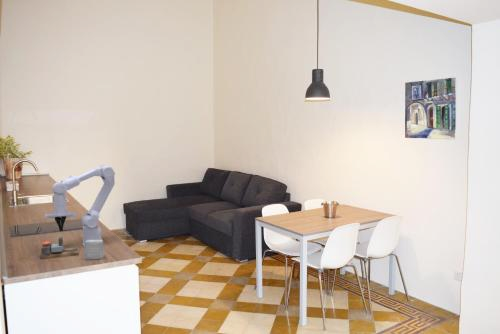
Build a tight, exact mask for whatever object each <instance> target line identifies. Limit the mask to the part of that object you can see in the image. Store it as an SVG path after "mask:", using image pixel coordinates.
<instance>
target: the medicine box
mask: <svg viewBox="0 0 500 334" xmlns="http://www.w3.org/2000/svg"><path fill="white" fill-rule="evenodd" d="M83 247H84V248H83V249H84V250H83V251H84V260H102V259H103V258H104V256H105V255H104V250H105V249H104V240H103V239H102V240H87V241H85V242H84V246H83Z"/></svg>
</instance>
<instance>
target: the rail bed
mask: <svg viewBox="0 0 500 334" xmlns="http://www.w3.org/2000/svg"><path fill="white" fill-rule="evenodd" d="M51 246H52V241H50V244H49V245H42V244H41V248H40V250H41V251H40V252H41V254H40V256H39V258H40V260H43V259H45V260H46V259H53V258H64V257H73V256H74V257H75V256H79V252H80V247H69V248H63V251H61V252H51Z"/></svg>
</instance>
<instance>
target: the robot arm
mask: <svg viewBox="0 0 500 334" xmlns="http://www.w3.org/2000/svg"><path fill="white" fill-rule="evenodd" d="M115 176H116V172H115V170H114V169H113V167H112V166H109V165H104V164H102V165H99V166H96V167H94V168H92V169H90V170H88V171H86V172H84V173H82V174H80V175H78V176H77V175H69V176H68V178H66V179H61V180H60V182H54V184H53V185H52V188H51V190H52V192H53V207H54V208H53V209H54V211H53V213H46V214H44V219H54V221H55V223H56V224H57V226H58V229H59V232H63V231H64V225H65V222H66V220H67V218H70V217H71V218H72V217H76V216H77V215H76V213H77V212H76V211H75V212H74V211H73V212H69V211H67V200H66V199H67V198H66V192H67V191H70V190H72V189H74V188H77V187H79V186H80V184H81V182H83V181H86V180H88V179H91V178H93V177H100V178H101V180H102V183H103V184H102V187H101V189H100V190H99V193H98V194H97V197H96V198H95V200H94V202H93V203H92V205H91V207H90V208H89V210H88V211H87V212H86V213H85V215H83V216H82V217H81V223H82V225H83V226H82V239H83V240H82V246H83V247H84V242H85V241H87V240H103V239H102V231H101V228H102V227H101V226H98V224H99V223H98V222H99V218H100V212H101V211H102V209H103V207H104V205H105V203H106V201H107V199H108V197H109V195H110V194H111V192H112V190H113V189H114V186H115V184H116V183H115V182H116V181H115Z"/></svg>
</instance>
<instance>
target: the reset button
mask: <svg viewBox="0 0 500 334" xmlns="http://www.w3.org/2000/svg"><path fill="white" fill-rule="evenodd" d="M50 242H51V241H49V240H48V241H46V240H45V241H41V246H42V245H49V244H50Z"/></svg>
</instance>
